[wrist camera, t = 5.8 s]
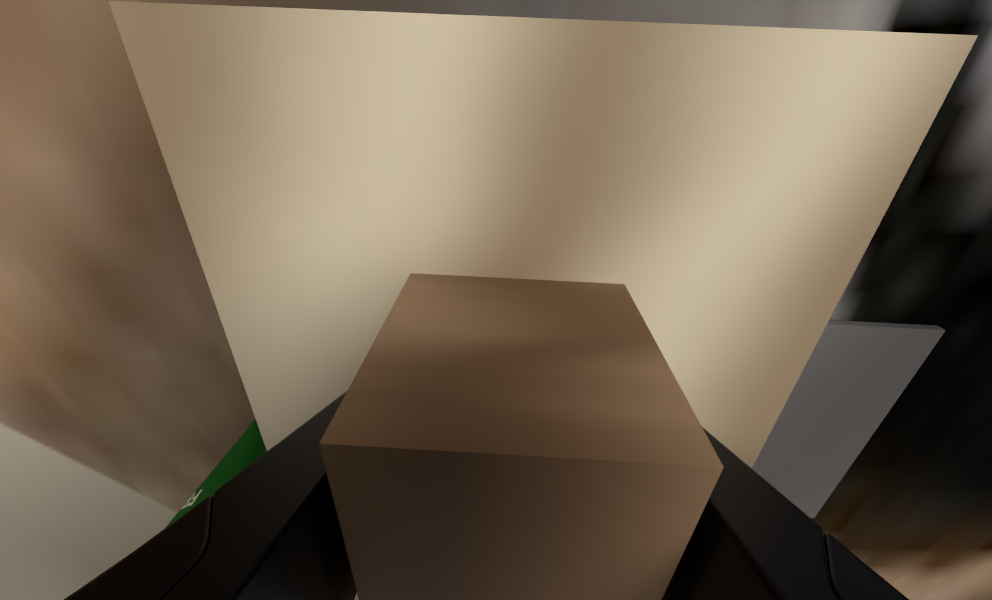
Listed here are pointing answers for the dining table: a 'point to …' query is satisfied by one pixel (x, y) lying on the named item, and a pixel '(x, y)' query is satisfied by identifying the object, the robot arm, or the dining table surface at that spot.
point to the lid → (526, 260)
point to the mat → (840, 405)
